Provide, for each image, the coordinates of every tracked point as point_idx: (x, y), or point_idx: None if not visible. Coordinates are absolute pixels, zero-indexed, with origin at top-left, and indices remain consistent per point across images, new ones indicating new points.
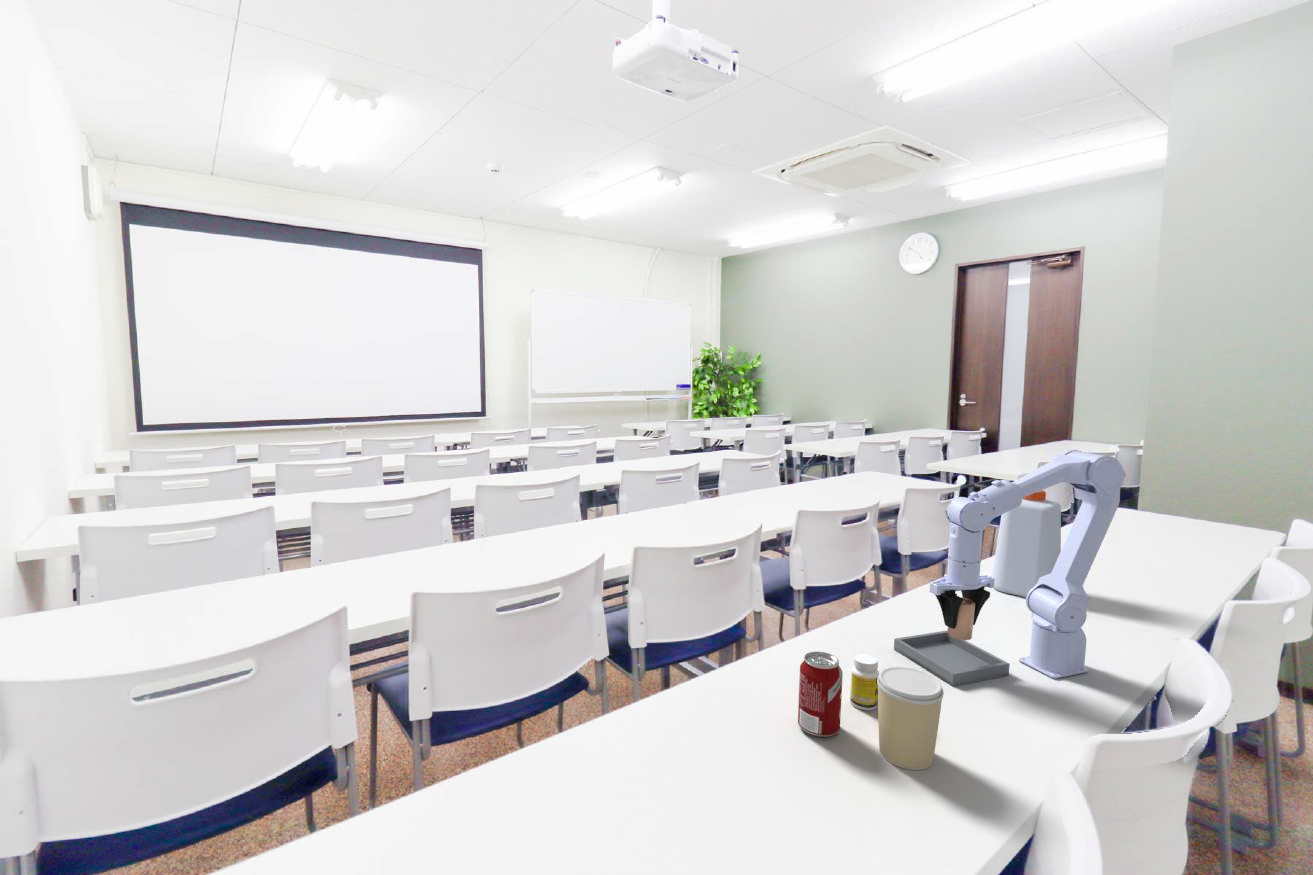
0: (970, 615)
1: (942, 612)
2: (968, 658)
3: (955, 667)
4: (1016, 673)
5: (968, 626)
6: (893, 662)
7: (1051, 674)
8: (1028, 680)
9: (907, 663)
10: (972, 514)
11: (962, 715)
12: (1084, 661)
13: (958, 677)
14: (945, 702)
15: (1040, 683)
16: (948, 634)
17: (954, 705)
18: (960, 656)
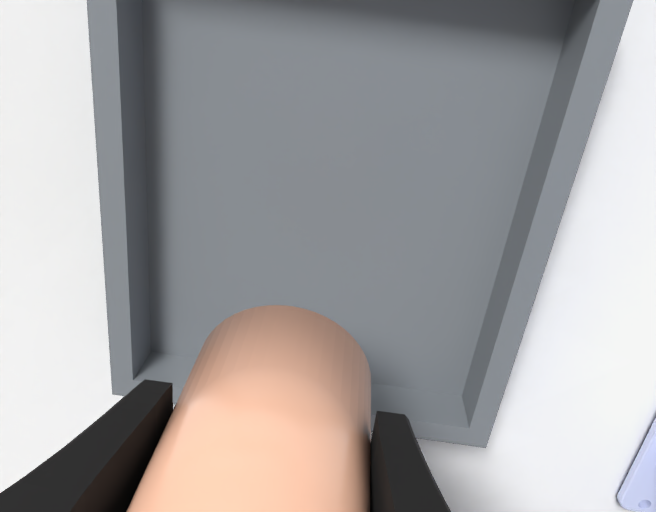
0: None
1: (62, 451)
2: (441, 245)
3: (274, 280)
4: (529, 408)
5: None
6: (2, 56)
7: (631, 496)
8: (506, 457)
9: (79, 104)
10: None
11: (20, 478)
12: None
13: None
14: (17, 411)
15: (524, 487)
16: (203, 344)
17: (38, 435)
18: (421, 211)
